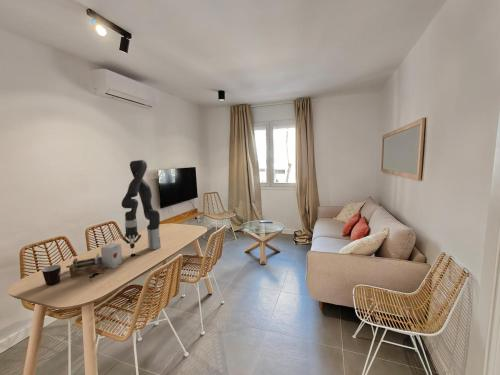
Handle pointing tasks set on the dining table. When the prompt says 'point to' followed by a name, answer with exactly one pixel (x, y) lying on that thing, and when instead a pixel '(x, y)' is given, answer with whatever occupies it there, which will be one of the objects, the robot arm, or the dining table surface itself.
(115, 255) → the supplement box
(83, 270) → the brown wooden box
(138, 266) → the dining table surface
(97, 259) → the pusher plate
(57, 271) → the coffee mug
